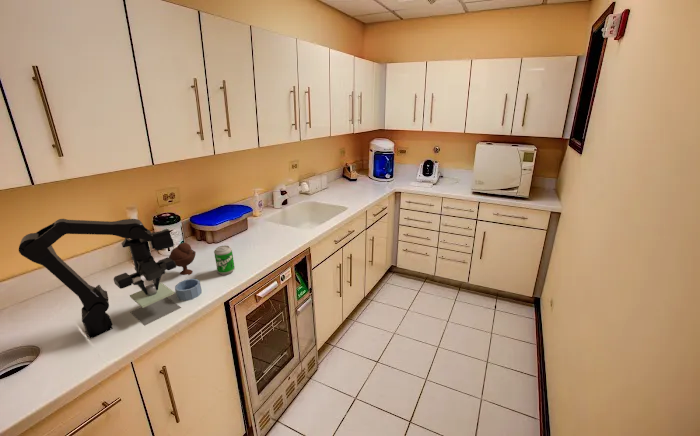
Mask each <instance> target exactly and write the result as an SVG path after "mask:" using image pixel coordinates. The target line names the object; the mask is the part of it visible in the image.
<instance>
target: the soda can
mask: <svg viewBox="0 0 700 436" xmlns="http://www.w3.org/2000/svg"><path fill="white" fill-rule="evenodd" d="M213 253H214V258H215V265H216V270H217V271H216V272H217V273H218V274H220V275H223V276H224V275H225V276H226V275H229V274H232V273H233V272H234V271H235V262H234V261H235V260H234V255H233V249H232V247H231V246H229V245H225V244H224V245H219V246H217V247H216V248H215V249H214V251H213Z"/></svg>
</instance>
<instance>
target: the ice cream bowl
mask: <svg viewBox="0 0 700 436" xmlns="http://www.w3.org/2000/svg"><path fill="white" fill-rule="evenodd" d="M177 246H178V247H176V248H173V249H171V251H170V253H169V254H170V255H169V256H168V258H170V259H172V260H173V261H175V263H176V267H181V268H182V270H181V271H180V272H179V275H181V276H186V275H188V276H190V275H192V274H193V270H192V269H190V268H188V266H189V265H190V264H192V263H193V262H194V260H195V259H196V251H195V250H193V249H192V246H191V245H190V244H189V243H187V242H181V243H179V244H178V245H177Z"/></svg>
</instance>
